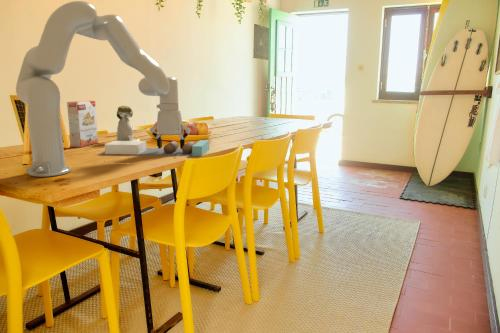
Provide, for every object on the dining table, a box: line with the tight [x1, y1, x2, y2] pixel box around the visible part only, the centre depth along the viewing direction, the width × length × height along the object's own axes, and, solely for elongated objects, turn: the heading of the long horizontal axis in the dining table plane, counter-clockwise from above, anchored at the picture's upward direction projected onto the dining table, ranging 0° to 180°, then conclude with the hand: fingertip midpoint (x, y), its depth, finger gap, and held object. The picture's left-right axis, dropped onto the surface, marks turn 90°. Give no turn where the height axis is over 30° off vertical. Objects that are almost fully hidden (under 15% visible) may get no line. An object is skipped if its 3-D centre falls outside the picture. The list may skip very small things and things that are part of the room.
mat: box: [98, 147, 193, 157], centre depth 166 cm, size 16×44×1 cm, turn 85°
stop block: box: [191, 139, 210, 157], centre depth 164 cm, size 16×4×4 cm, turn 175°
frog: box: [113, 105, 142, 141], centre depth 189 cm, size 12×13×18 cm
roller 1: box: [163, 140, 180, 154], centre depth 165 cm, size 9×4×4 cm, turn 175°
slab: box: [104, 140, 147, 156], centre depth 164 cm, size 10×14×4 cm
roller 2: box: [182, 140, 196, 154], centre depth 164 cm, size 9×4×4 cm, turn 175°
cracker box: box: [66, 100, 99, 148], centre depth 183 cm, size 14×6×21 cm, turn 168°
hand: (171, 148), depth 165 cm, fingers open, 9 cm apart
